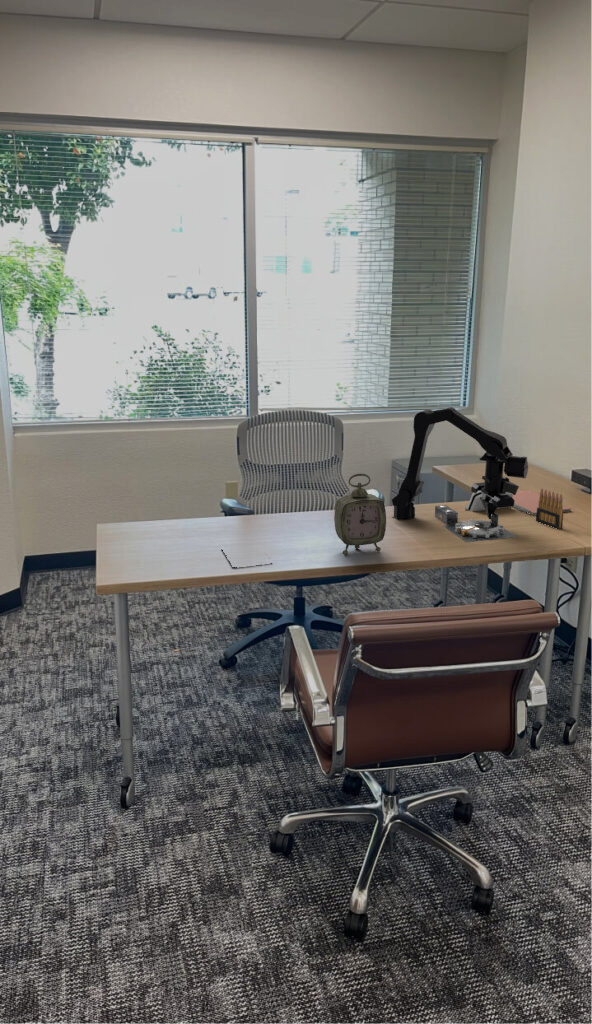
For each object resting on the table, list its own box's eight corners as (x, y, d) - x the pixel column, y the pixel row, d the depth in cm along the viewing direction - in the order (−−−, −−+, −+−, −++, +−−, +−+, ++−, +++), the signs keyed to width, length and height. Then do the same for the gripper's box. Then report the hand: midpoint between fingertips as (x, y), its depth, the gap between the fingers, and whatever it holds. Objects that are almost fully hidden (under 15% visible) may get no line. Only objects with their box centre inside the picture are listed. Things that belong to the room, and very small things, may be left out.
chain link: (446, 527, 257) (446, 513, 256) (434, 519, 267) (435, 505, 265) (457, 526, 258) (458, 511, 257) (445, 518, 267) (445, 504, 266)
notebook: (490, 498, 292) (491, 493, 292) (528, 494, 297) (529, 489, 296) (530, 517, 267) (530, 512, 267) (571, 513, 272) (571, 507, 271)
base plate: (466, 545, 239) (466, 542, 239) (442, 528, 256) (442, 525, 255) (517, 539, 243) (517, 536, 243) (490, 523, 260) (491, 521, 259)
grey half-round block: (503, 505, 281) (510, 483, 275) (510, 512, 277) (516, 490, 271) (463, 510, 276) (469, 487, 270) (469, 517, 273) (475, 494, 267)
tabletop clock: (341, 558, 230) (340, 478, 223) (333, 548, 239) (332, 472, 232) (385, 553, 234) (386, 475, 226) (376, 544, 242) (376, 468, 235)
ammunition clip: (562, 528, 253) (565, 494, 249) (558, 529, 252) (561, 495, 249) (539, 520, 262) (542, 487, 259) (535, 521, 261) (538, 487, 258)
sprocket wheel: (463, 539, 241) (464, 523, 239) (448, 524, 256) (449, 509, 254) (511, 536, 242) (512, 520, 241) (494, 522, 257) (494, 506, 256)
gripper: (531, 480, 239) (527, 526, 244) (501, 464, 256) (498, 508, 261) (499, 483, 237) (496, 529, 242) (471, 467, 254) (469, 511, 259)
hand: (490, 519), depth 251 cm, fingers closed
